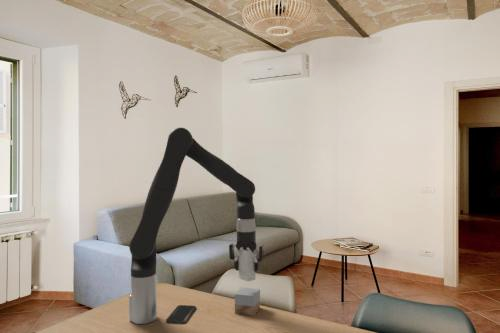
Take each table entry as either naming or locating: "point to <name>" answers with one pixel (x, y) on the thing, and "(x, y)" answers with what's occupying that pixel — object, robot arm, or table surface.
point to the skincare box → (246, 266)
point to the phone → (181, 314)
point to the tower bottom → (247, 309)
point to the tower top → (247, 296)
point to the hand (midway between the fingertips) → (246, 270)
